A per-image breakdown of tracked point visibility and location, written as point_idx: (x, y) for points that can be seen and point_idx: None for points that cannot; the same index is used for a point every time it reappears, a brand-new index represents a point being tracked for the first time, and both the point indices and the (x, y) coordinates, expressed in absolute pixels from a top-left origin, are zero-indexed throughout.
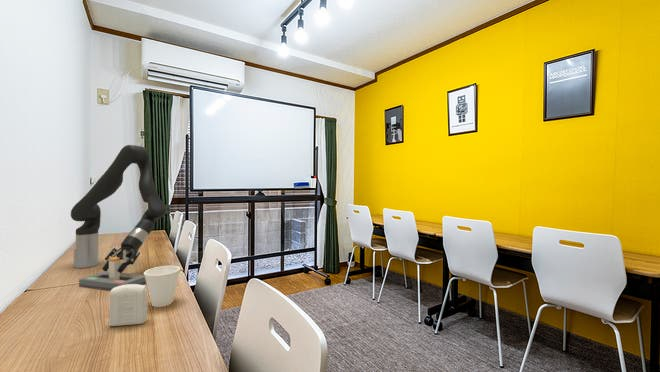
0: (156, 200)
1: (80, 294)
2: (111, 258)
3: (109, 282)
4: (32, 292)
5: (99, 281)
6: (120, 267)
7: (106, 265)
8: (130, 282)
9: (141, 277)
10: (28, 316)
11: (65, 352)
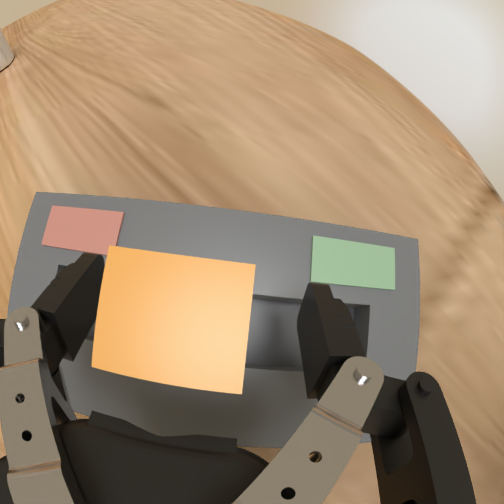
0: None
1: (261, 148)
2: (207, 284)
3: (141, 210)
4: (467, 169)
5: (238, 217)
6: (68, 272)
7: (317, 322)
8: (22, 242)
9: None
10: (242, 21)
11: (51, 11)
